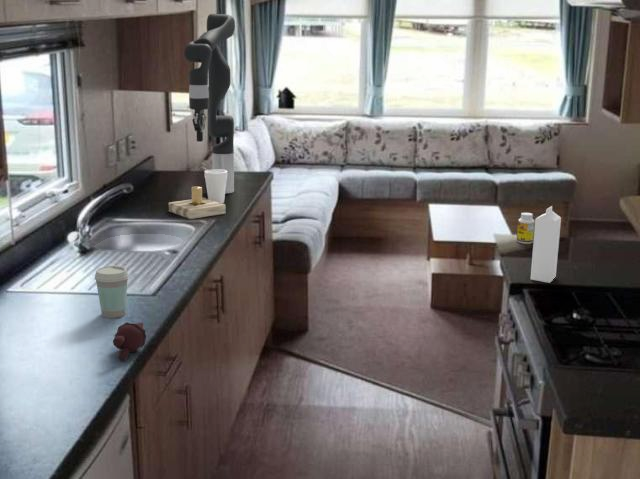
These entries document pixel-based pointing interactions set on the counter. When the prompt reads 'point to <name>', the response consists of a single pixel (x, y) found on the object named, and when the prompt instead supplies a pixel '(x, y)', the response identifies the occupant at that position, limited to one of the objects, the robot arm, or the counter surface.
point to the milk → (545, 246)
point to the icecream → (129, 338)
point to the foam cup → (216, 184)
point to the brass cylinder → (196, 195)
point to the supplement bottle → (525, 228)
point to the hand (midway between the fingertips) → (199, 141)
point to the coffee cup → (112, 290)
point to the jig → (197, 208)
